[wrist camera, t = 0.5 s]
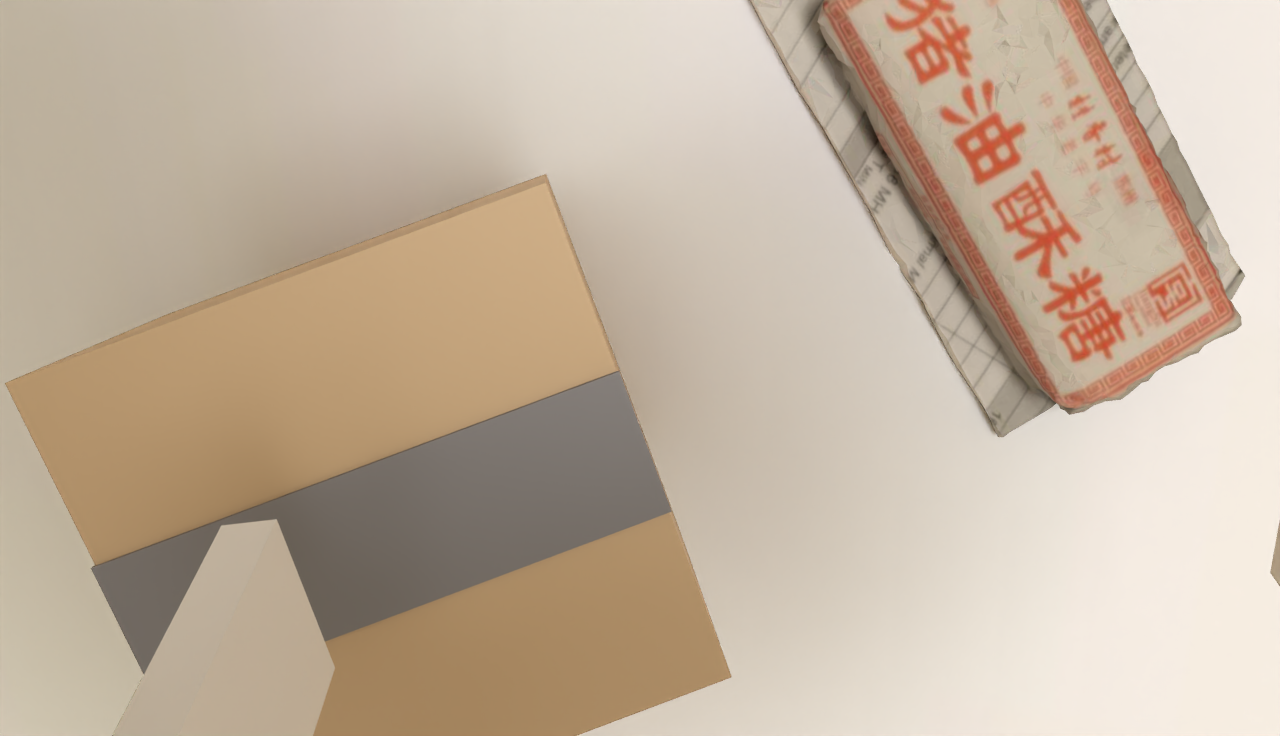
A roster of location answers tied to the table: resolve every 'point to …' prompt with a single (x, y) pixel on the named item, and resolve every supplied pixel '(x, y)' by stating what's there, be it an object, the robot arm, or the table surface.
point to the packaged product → (1018, 188)
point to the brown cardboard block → (399, 477)
